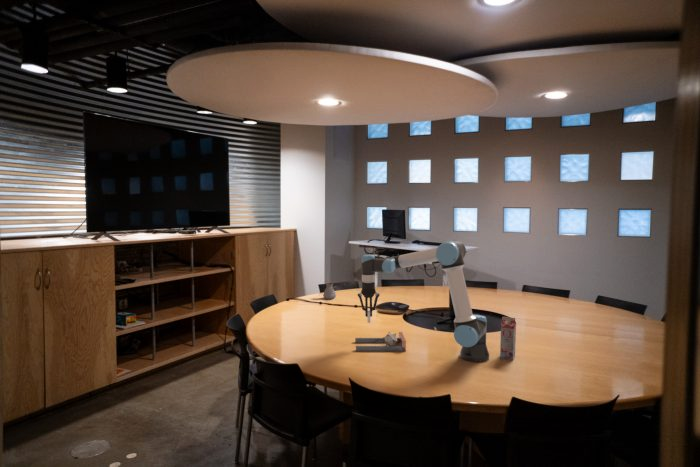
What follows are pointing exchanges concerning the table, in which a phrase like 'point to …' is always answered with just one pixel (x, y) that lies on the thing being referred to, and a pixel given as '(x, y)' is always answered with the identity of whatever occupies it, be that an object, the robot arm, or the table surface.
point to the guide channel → (381, 348)
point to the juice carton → (508, 338)
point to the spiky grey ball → (390, 339)
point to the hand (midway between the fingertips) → (368, 322)
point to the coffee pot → (330, 291)
